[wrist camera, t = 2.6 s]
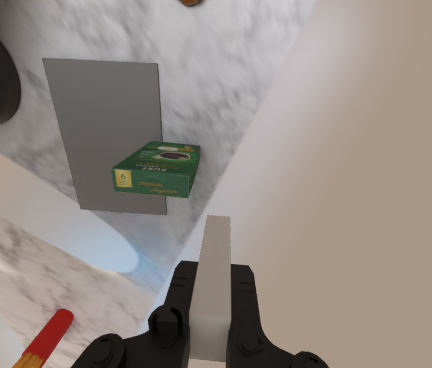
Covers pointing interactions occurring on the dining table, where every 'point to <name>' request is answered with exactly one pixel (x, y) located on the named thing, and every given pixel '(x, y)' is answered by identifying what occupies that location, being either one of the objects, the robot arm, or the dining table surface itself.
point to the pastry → (189, 2)
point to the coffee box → (158, 170)
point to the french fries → (45, 341)
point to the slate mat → (106, 126)
